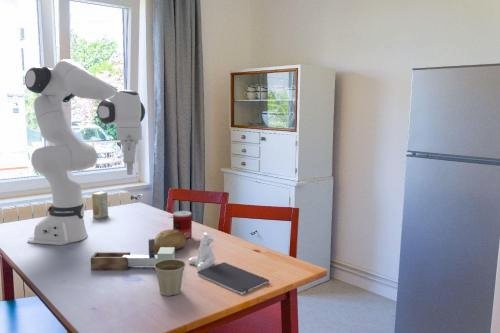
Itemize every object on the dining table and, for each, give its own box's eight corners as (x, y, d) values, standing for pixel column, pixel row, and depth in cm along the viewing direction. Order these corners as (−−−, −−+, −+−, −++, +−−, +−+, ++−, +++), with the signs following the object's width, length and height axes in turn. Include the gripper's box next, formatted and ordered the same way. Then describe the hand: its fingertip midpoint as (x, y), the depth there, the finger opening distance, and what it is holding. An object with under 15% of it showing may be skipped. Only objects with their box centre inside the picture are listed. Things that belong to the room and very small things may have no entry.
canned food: (193, 235, 184) (193, 211, 182) (189, 241, 176) (189, 216, 175) (176, 235, 185) (176, 210, 183) (171, 240, 177) (170, 215, 175)
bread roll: (193, 248, 169) (193, 228, 168) (162, 258, 158) (161, 237, 157) (177, 242, 175) (177, 223, 174) (146, 251, 164) (146, 231, 163)
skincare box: (101, 214, 215) (100, 190, 213) (108, 215, 213) (107, 191, 211) (92, 217, 209) (91, 193, 207) (99, 218, 207) (98, 194, 205)
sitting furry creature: (187, 263, 153) (186, 231, 151) (208, 258, 158) (208, 227, 156) (198, 272, 145) (198, 238, 144) (220, 267, 150) (221, 234, 148)
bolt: (121, 266, 146) (121, 241, 145) (123, 263, 149) (123, 238, 148) (168, 266, 147) (168, 241, 146) (169, 263, 150) (169, 238, 149)
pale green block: (157, 271, 145) (157, 253, 145) (160, 263, 152) (160, 247, 151) (172, 271, 146) (172, 253, 145) (174, 263, 152) (174, 247, 151)
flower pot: (156, 285, 134) (156, 259, 133) (186, 284, 135) (186, 258, 134) (152, 298, 125) (151, 270, 124) (184, 298, 126) (184, 270, 125)
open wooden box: (91, 270, 145) (90, 257, 144) (96, 264, 150) (95, 252, 150) (126, 270, 146) (126, 257, 145) (130, 264, 151) (130, 252, 150)
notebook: (269, 284, 138) (223, 266, 152) (269, 279, 138) (223, 262, 152) (241, 297, 129) (196, 276, 143) (241, 292, 128) (196, 271, 143)
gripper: (138, 137, 146) (139, 177, 148) (138, 132, 166) (138, 168, 168) (118, 137, 144) (120, 177, 146) (121, 132, 164) (122, 168, 166)
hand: (130, 172), depth 157 cm, fingers open, 8 cm apart
